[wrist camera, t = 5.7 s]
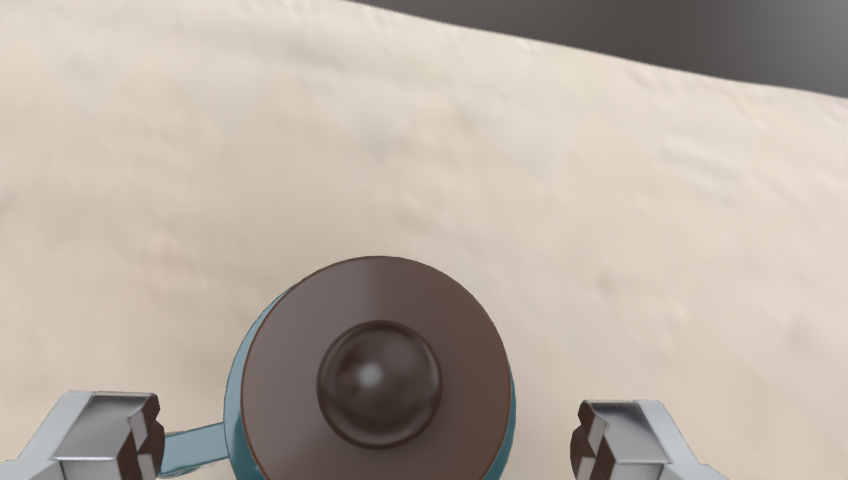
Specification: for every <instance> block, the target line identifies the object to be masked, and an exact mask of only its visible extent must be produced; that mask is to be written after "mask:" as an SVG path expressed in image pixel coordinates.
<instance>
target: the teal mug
mask: <svg viewBox="0 0 848 480" xmlns="http://www.w3.org/2000/svg"><path fill="white" fill-rule="evenodd" d="M296 284H297V283H296ZM296 284H295V285H296ZM293 286H294V285H293ZM293 286H292V287H293ZM292 287H290V288H292ZM290 288H289V289H290ZM289 289H288V290H289ZM288 290H286V291H285V292H284V293H282V294H281V295H280V296H278V297H277V298H276V299H275V300H274V301H273V302H272V303H271V304H270V305H269V306H268V307H267V308H266V309H265V310H264V311H263V312H262V314H261V315H260V316H259V317H258V319H257V320H256V321H255V322H254V324H253V325H252V326H251V328H250V330H249V331H248V333H247V334H246V336H245V338H244V339H243V341H242V343H241V345H240V347H239V349H238V351H237V354H236V356H235V358H234V360H233V364H232V367H231V370H230V373H229V376H228V380H227V386H226V392H225V397H224V413H223V422H219V423H215V424H211V425H207V426H203V427H199V428H196V429H192V430H188V431H181V432H167V433H165V451H164V456H163V461H162V466H161V468H160V471H159V473H158V476H157V478H159V479H171V478H174V477H178V476H181V475H185V474H188V473H191V472H195V471H198V470H201V469H205V468H208V467H211V466H213V465H214V464H216V463H217V462H218V461H220V460H224V459H228V458H229V460H230V463H231V466H232V468H233V471H234V474H235V477H236V479H237V480H266V479H265V478H264V476H263V475H262V474H261V472H260V470H259V468H258V466H257V464H256V463H255V461H254V459H253V457H252V454H251V452H250V449H249V446H248V444H247V441H246V438H245V434H244V429H243V425H242V420H241V409H240V386H241V378H242V372H243V366H244V362H245V359H246V356H247V353H248V349H249V346H250V344H251V342H252V340H253V338H254V335H255V333H256V331H257V329H258V328H259V326H260V324H261V323H262V321H263V319H264V318H265V316H266V315H267V313H268V312H269V311H270V310H271V308H272V307H273V306H274V305H275V303H276V302H277V301H278V300H279V299H280V298H281V297H282V296H283V295H284V294H285V293H286V292H287V291H288ZM508 363H509V361H508ZM509 368H510V364H509ZM510 375H511V386H512V397H511V411H510V417H509V423H508V427H507V431H506V434H505V438H504V441H503V444H502V446H501V448H500V451H499V453H498V455H497V458H496V460H495V461H494V463H493V465H492V466H491V468H490V470H489V471H488V473H487V475H486V476H485V477H484V479H483V480H500V477H501V475H502V473H503V470H504V468H505V466H506V463H507V460H508V457H509V453H510V450H511V446H512V443H513V436H514V430H515V423H516V398H515V387H514V381H513V377H512V372H511V368H510Z"/></svg>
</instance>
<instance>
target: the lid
mask: <svg viewBox="0 0 848 480" xmlns="http://www.w3.org/2000/svg"><path fill="white" fill-rule="evenodd" d="M511 397H512V386H511V375H510V368H509V363H508V359H507V354H506V351H505V348H504V346H503V343H502V340H501V337H500V335H499V333H498V331H497V329H496V327H495V325H494V323H493V321H492V320H491V318H490V317H489V315H488V314H487V312H486V311H485V309H484V308H483V307H482V306H481V304H480V303H479V302H478V301H477V300H476V299H475V298H474V296H473V295H472V294H471V293H469V292H468V291H467V290H466V289H465V288H464V287H463V286H462V285H461V284H459V283H458V282H456V281H455V280H454V279H452V278H451V277H449V276H448V275H446V274H444V273H442V272H441V271H439V270H437V269H435V268H433V267H431V266H428V265H425V264H423V263H420V262H417V261H413V260H409V259H405V258H400V257H391V256H365V257H358V258H351V259H347V260H344V261H340V262H337V263H334V264H331V265H329V266H326V267H324V268H322V269H319V270H317V271H316V272H314V273H312V274H310V275H309V276H307V277H305V278H304V279H302V280H301V281H300V282H298V283H297V284H296V285H294V286H293V287H292V288H290V289H289V290H288V291H287V292H286V293H285V294H284V295H283V296H282V297H281V298H280V299H279V300H278V301H277V302H276V303H275V305H274V306H273V307H272V308H271V310H270V311H269V312H268V313H267V315H266V316H265V318H264V319H263V321H262V323H261V324H260V326H259V328H258V329H257V331H256V333H255V335H254V338H253V340H252V342H251V344H250V346H249V349H248V353H247V356H246V359H245V362H244V366H243V372H242V378H241V386H240V409H241V420H242V425H243V429H244V434H245V438H246V441H247V444H248V446H249V449H250V452H251V454H252V457H253V459H254V461H255V463H256V464H257V466H258V468H259V470H260V472H261V474H262V475H263V476H264V478H265V479H266V480H483V479H484V477H485V476H486V475H487V473H488V471H489V470H490V468H491V466H492V465H493V463H494V461H495V460H496V458H497V455H498V453H499V451H500V448H501V446H502V444H503V441H504V438H505V434H506V431H507V427H508V423H509V417H510V411H511Z"/></svg>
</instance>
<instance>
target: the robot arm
mask: <svg viewBox="0 0 848 480" xmlns="http://www.w3.org/2000/svg"><path fill="white" fill-rule="evenodd" d="M159 411H160V405H159V401H158V397H157V395H155V394H153V393H139V392H113V391H98V392H95V391H74V390H70V391H68V392H66V393H65V394H63V395H62V396H61V397H60V399H59V400H58V401H57V403H56V404H55V406H54V407H53V408H52V410H51V411H50V413H49V414H48V415H47V417H46V418H45V420H44V421H43V422H42V424H41V425H40V427H39V428H38V429H37V431H36V432H35V434H34V435H33V436H32V438H31V439H30V441H29V442H28V444H27V445H26V446H25V448H24V449H23V451H22V452H21V453H20V455H19V456H18V458H17V459H16V460H6V461H4V462H3V463H1V464H0V480H155V479H156V478H157V476H158V473H159V471H160V468H161V466H162V461H163V456H164V451H165V433H164V427H163V426H162V425H161V424H160V423H159V422H158V421H156V420H155V419H156V417H157V415H158V413H159ZM578 417H579V419H580V422H581V425H580V426H579V427H578V428H577V429H575V430H574V431H573V434H572V439H571V443H570V459H571V464H572V469H573V472H574V475H575V478H576V480H729V479H727V478H726V477H724V476H723V475H722V474H720V473H719V472H717V471H716V470H714V469H713V468H712V467H710V466H709V465H707V464H699V462H698V460H697V459H696V457H695V456H694V454H693V452H692V451H691V449H690V447H689V446H688V444H687V442H686V441H685V439H684V437H683V436H682V434H681V432H680V431H679V429H678V427H677V426H676V424H675V423H674V421H673V419H672V418H671V416H670V414H669V413H668V411H667V409H666V408H665V406H664V404H663V403H662V402H660V401H659V400H633V401H632V400H584V401H583V402H582V403H581V405H580V408H579V412H578Z"/></svg>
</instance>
